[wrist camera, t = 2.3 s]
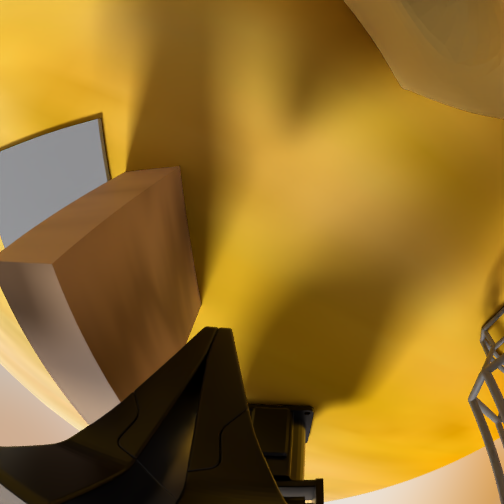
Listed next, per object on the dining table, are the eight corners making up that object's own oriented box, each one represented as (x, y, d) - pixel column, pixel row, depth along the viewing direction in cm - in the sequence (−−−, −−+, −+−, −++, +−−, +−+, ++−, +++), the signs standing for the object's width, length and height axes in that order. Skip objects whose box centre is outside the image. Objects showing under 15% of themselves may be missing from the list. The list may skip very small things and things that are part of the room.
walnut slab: (201, 304, 17) (148, 442, 9) (155, 301, 18) (87, 423, 10) (180, 166, 13) (51, 264, 6) (125, 171, 14) (-11, 260, 6)
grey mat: (152, 336, 19) (150, 339, 19) (37, 316, 21) (35, 318, 20) (101, 118, 12) (97, 118, 12) (-16, 158, 14) (-19, 160, 14)
